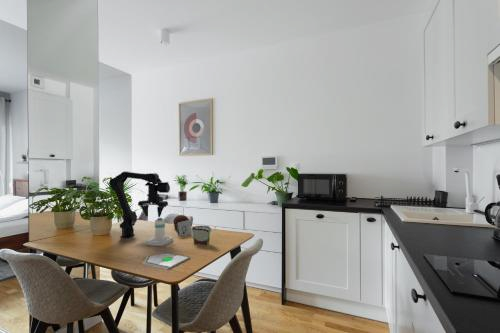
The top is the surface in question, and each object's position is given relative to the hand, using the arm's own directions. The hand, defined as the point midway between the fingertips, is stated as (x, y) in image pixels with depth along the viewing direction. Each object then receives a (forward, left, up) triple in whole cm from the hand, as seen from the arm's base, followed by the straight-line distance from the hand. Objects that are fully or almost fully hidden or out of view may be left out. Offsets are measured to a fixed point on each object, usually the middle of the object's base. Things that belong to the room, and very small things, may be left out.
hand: (153, 216), depth 162 cm
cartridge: (+12, -10, -12) cm, 20 cm away
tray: (+12, -10, -13) cm, 20 cm away
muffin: (+7, +23, -13) cm, 27 cm away
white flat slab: (+30, -34, -14) cm, 47 cm away
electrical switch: (+17, +9, -13) cm, 23 cm away
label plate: (+24, +9, -13) cm, 29 cm away
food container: (+38, -5, -13) cm, 41 cm away
